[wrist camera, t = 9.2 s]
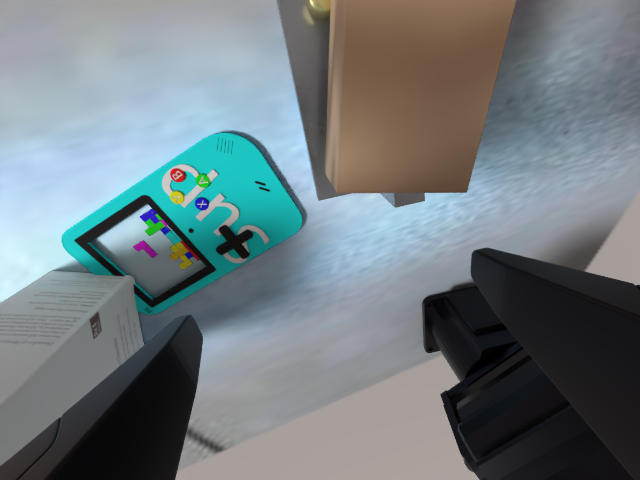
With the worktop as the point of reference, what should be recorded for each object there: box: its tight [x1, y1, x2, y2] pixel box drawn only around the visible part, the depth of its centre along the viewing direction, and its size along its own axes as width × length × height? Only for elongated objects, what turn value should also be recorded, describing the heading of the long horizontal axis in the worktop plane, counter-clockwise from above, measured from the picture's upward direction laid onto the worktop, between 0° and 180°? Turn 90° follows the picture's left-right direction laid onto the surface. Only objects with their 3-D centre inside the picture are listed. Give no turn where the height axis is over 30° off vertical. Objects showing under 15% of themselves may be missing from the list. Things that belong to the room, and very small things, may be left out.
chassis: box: [277, 0, 425, 207], centre depth 15 cm, size 13×9×6 cm
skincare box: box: [0, 271, 144, 466], centre depth 15 cm, size 8×6×15 cm
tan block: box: [325, 0, 516, 193], centre depth 12 cm, size 10×6×4 cm, turn 178°
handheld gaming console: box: [62, 133, 302, 315], centre depth 20 cm, size 8×1×15 cm
